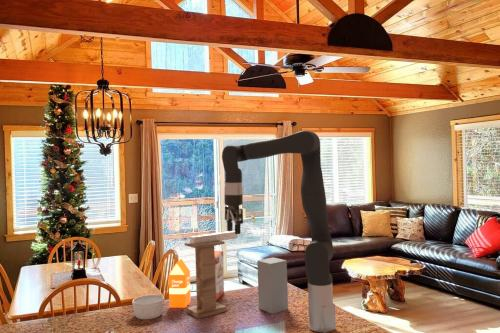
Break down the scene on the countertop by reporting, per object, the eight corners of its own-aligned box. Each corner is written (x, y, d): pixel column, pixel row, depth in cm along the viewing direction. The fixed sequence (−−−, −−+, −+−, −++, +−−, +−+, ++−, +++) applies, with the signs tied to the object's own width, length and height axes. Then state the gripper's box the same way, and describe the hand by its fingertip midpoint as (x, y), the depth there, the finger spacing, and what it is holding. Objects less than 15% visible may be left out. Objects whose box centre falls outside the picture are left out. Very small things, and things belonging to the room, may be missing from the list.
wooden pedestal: (226, 311, 188) (224, 241, 187) (198, 318, 179) (195, 245, 179) (214, 305, 196) (212, 238, 196) (186, 312, 187) (184, 242, 187)
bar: (237, 238, 195) (237, 231, 195) (194, 244, 182) (193, 237, 182) (233, 237, 198) (233, 230, 198) (190, 243, 185) (190, 236, 185)
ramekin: (137, 323, 177) (136, 305, 177) (129, 313, 188) (128, 297, 188) (168, 316, 183) (168, 300, 183) (159, 308, 195) (158, 292, 195)
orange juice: (191, 301, 203) (189, 258, 203) (186, 307, 194) (184, 262, 194) (174, 301, 204) (173, 258, 204) (169, 307, 195) (167, 262, 195)
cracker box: (217, 301, 201) (215, 256, 201) (204, 301, 202) (203, 256, 202) (225, 292, 215) (223, 250, 215) (213, 292, 216) (211, 250, 216)
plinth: (288, 309, 188) (286, 260, 187) (271, 313, 182) (270, 263, 182) (274, 304, 195) (273, 257, 195) (258, 308, 190) (257, 260, 189)
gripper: (248, 194, 175) (248, 234, 175) (235, 191, 188) (235, 229, 188) (231, 195, 172) (231, 235, 172) (219, 192, 185) (219, 230, 185)
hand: (233, 232), depth 180 cm, fingers open, 8 cm apart
